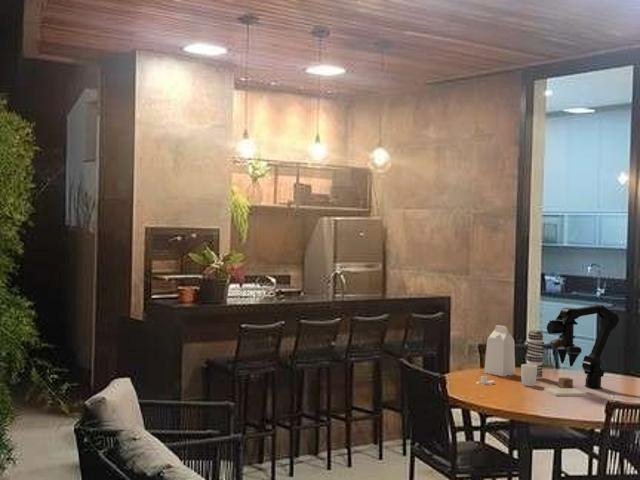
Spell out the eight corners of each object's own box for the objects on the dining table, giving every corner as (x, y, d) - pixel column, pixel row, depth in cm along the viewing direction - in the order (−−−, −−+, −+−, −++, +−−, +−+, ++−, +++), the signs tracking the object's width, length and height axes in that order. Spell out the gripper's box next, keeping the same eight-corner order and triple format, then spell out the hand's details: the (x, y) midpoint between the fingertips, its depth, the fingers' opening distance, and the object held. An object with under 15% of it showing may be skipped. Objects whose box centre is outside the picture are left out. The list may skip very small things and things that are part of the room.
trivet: (575, 390, 387) (575, 388, 387) (586, 395, 375) (587, 393, 375) (544, 390, 385) (544, 388, 385) (555, 395, 373) (555, 393, 373)
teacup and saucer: (495, 384, 400) (495, 376, 400) (491, 386, 393) (492, 378, 393) (478, 382, 404) (478, 374, 404) (474, 384, 396) (474, 376, 396)
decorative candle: (540, 379, 414) (542, 332, 413) (523, 377, 418) (524, 330, 418) (545, 377, 421) (546, 330, 421) (528, 375, 426) (529, 329, 426)
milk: (515, 374, 428) (516, 326, 428) (503, 376, 420) (504, 327, 420) (496, 370, 437) (497, 324, 436) (484, 373, 429) (485, 325, 428)
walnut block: (567, 387, 396) (568, 377, 396) (572, 389, 391) (572, 379, 391) (558, 387, 395) (558, 377, 395) (563, 389, 390) (563, 379, 390)
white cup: (537, 387, 394) (537, 367, 393) (520, 385, 395) (521, 366, 395) (536, 384, 401) (536, 364, 401) (520, 383, 403) (520, 363, 403)
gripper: (543, 331, 400) (543, 361, 400) (561, 336, 381) (560, 368, 382) (564, 331, 402) (563, 361, 402) (582, 336, 383) (581, 368, 383)
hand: (566, 364), depth 392 cm, fingers open, 9 cm apart
